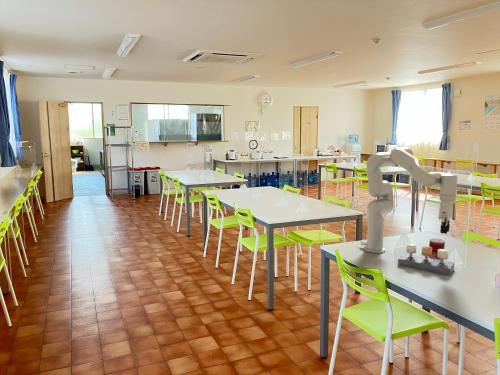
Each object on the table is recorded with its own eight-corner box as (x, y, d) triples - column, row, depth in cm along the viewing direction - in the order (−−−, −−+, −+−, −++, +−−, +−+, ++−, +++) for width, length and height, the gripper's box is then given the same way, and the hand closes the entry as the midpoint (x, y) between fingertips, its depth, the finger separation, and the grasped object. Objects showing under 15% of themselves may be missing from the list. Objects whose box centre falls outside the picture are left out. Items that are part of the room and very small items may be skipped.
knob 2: (435, 264, 218) (436, 250, 217) (437, 261, 222) (439, 248, 221) (446, 266, 215) (447, 252, 214) (448, 263, 219) (449, 250, 218)
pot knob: (419, 261, 223) (421, 247, 222) (422, 258, 227) (423, 245, 225) (429, 263, 220) (430, 249, 219) (432, 260, 224) (433, 246, 223)
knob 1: (404, 258, 227) (405, 245, 226) (407, 256, 231) (408, 243, 230) (414, 260, 224) (415, 246, 223) (416, 257, 228) (417, 244, 227)
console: (397, 265, 227) (398, 258, 226) (404, 259, 236) (404, 253, 236) (449, 276, 211) (449, 268, 211) (453, 269, 221) (454, 262, 220)
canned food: (444, 261, 234) (446, 242, 233) (429, 260, 236) (431, 241, 234) (441, 257, 242) (443, 239, 240) (427, 256, 243) (428, 238, 242)
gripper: (443, 194, 222) (440, 227, 225) (436, 199, 209) (433, 234, 211) (458, 196, 218) (455, 230, 220) (452, 201, 204) (449, 236, 207)
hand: (444, 231), depth 216 cm, fingers open, 4 cm apart
